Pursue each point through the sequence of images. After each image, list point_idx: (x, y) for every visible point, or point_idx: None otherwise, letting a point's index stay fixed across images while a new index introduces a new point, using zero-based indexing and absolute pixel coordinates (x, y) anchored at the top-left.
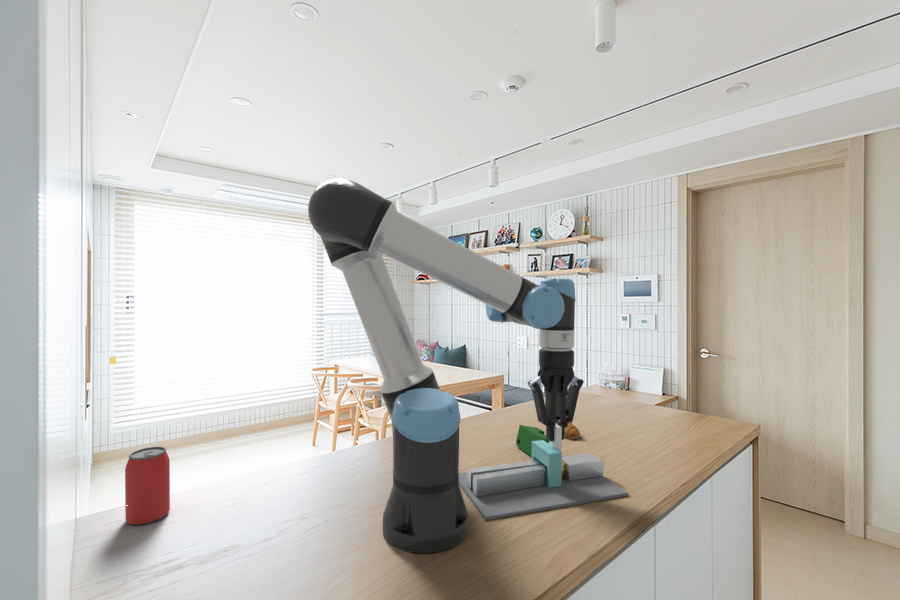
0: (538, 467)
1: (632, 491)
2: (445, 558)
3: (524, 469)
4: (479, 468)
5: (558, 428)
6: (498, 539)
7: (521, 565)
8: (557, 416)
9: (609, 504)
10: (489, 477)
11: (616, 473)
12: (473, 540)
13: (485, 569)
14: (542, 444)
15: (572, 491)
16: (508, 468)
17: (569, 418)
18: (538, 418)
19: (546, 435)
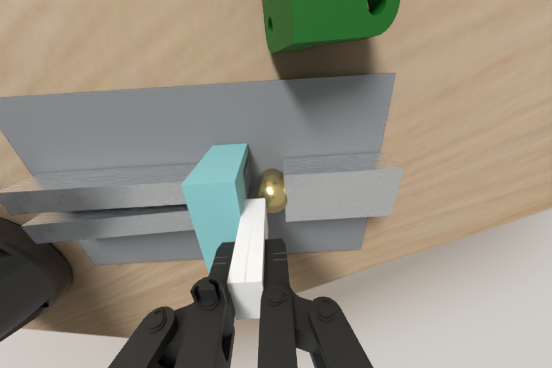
0: None
1: (379, 236)
2: (54, 305)
3: (160, 222)
4: (30, 197)
5: (250, 314)
6: (118, 291)
7: (142, 320)
8: (269, 333)
9: (309, 258)
10: (67, 240)
11: (421, 172)
12: (84, 289)
13: (103, 320)
14: (214, 218)
15: (268, 230)
16: (118, 207)
17: (317, 355)
18: (137, 338)
19: (216, 256)
